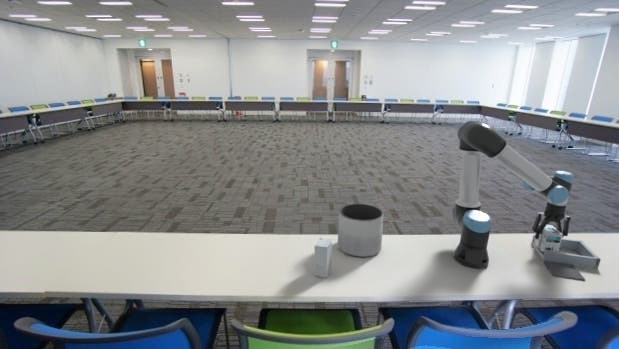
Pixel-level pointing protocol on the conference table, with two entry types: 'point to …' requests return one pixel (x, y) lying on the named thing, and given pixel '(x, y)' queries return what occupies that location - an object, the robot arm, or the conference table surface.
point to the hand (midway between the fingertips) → (545, 246)
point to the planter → (360, 230)
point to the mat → (563, 270)
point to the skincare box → (323, 257)
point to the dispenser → (585, 260)
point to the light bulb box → (550, 239)
